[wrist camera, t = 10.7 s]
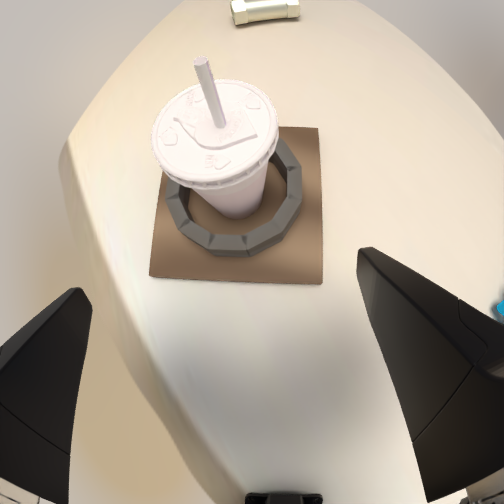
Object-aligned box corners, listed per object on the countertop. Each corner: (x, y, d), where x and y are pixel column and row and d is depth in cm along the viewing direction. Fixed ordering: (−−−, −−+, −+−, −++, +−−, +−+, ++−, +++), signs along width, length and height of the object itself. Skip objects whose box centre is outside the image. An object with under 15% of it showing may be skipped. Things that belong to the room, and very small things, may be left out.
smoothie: (259, 250, 22) (225, 148, 8) (183, 218, 23) (80, 112, 9) (292, 175, 22) (300, 27, 9) (219, 150, 23) (166, 13, 10)
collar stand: (320, 284, 22) (328, 279, 18) (153, 277, 23) (134, 271, 19) (316, 134, 24) (321, 110, 21) (173, 136, 25) (161, 115, 22)
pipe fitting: (229, 11, 30) (237, 30, 28) (225, -11, 27) (232, 6, 25) (285, 3, 30) (299, 22, 28) (284, -18, 26) (299, -2, 24)
